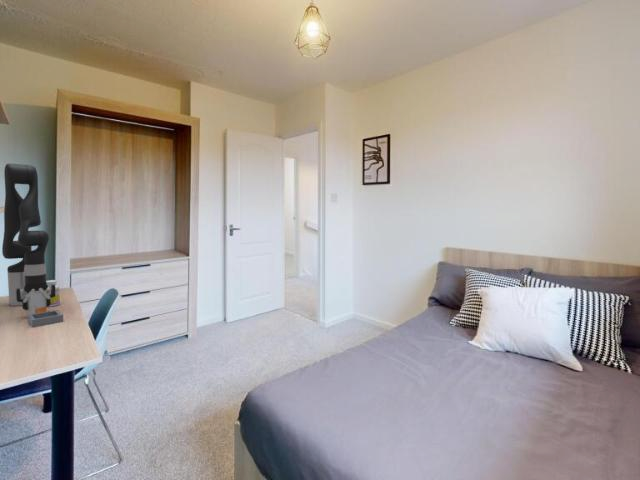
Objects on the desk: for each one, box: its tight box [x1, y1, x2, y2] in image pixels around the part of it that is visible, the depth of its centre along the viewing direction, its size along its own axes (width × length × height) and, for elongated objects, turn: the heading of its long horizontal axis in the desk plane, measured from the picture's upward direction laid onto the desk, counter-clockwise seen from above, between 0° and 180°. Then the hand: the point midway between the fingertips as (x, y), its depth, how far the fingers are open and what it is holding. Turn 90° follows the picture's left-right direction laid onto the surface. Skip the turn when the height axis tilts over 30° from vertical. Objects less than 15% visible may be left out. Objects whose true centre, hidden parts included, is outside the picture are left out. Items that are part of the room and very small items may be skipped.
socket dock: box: [27, 309, 64, 328], centre depth 143 cm, size 10×10×3 cm
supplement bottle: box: [46, 279, 61, 308], centre depth 167 cm, size 7×7×13 cm
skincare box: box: [26, 290, 48, 318], centre depth 150 cm, size 6×4×12 cm
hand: (36, 308), depth 150 cm, fingers closed on skincare box, 7 cm apart
